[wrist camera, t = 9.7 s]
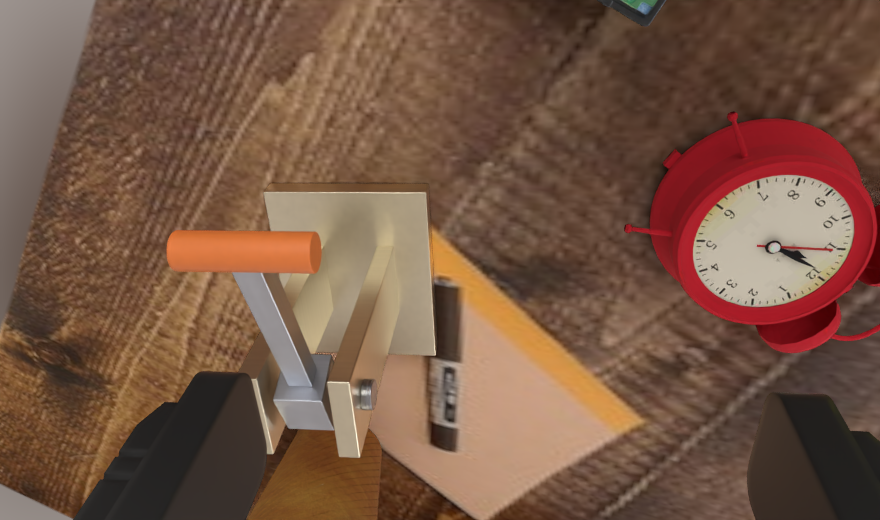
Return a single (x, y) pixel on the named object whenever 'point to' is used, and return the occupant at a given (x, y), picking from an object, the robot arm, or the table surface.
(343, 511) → the disposable coffee cup
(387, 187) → the bracket
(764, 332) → the alarm clock
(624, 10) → the disk drive
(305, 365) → the lever
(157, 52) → the table surface
